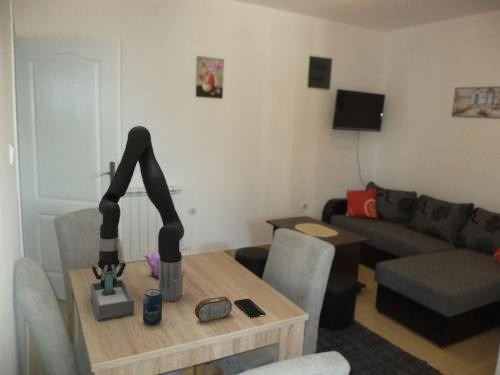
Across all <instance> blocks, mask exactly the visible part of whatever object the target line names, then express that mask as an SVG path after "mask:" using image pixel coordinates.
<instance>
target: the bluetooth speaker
mask: <svg viewBox="0 0 500 375" xmlns="http://www.w3.org/2000/svg"><path fill="white" fill-rule="evenodd" d="M232 307H233V304H232V302H231V300H230V299H229V298H228V297H227V296H217V297H212V298H206V299H202V300H200V301H199V302H198V303H197V304H196V306H195V308H194V314H195V317H196V318H197V320H199V321H200V322H210V321H215V320H221V319H224V318H226V317H228V316H229V315H230V314H231V311H232Z"/></svg>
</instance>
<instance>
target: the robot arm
mask: <svg viewBox="0 0 500 375" xmlns="http://www.w3.org/2000/svg"><path fill="white" fill-rule="evenodd" d="M126 139H127V140H126V144H125V148H124V151H123V154H122V156H121V158H120V161H119V163H118V165H117V167H116V170H115V172H114V174H113V176H112V179H111V181H110V184H109V186H108V188H107V190H106V191H105V193H104V194H103V195H102V198H101V199H100V201H99V203H98V212H99V213H100V214H101V215H102V223H101V224H100V225H99V242H98V253H99V254H98V261H97V263H96V264H91V266H90V267H91V269H92V272H93V275H94V276H95V278H96V280H99V281H100V285H101V287H102V288H105V280H104V277H105V275H106V272H109V271H110V272H112V273H113V287H115V285H117V280H118V278H120V277H122V275H123V273H124V270H125V268H126V263H125V261H123V262H120V261H119V259H120V258H119V252H120V251H119V247H120V246H119V244H120V243H119V242H120V241H119V225H120V224H119V223H120V220H121V213H122V212H121V207H120V205H119V202H120V199H121V198H122V197H124V196H125V195H126V193H127V191H128V189H129V186H130V185H131V182H132V179H133V176H134V174H135V170H136V166H137V164H138V166H139V169H140V176H141V180H142V183H143V187H144V189H145V192H146V195H147V198H148V199H149V201H150V202H151V204H152V205H153V206H154V207H155V209H156V210H157V211H158V213H159V216H160V220H161V221H162V226H161V227H160V228H159V231H158V235H157V251H158V253H159V256H160V264H159V278H158V290H160V291H161V294H162V302H169V303H170V302H175V303H176V302H177V301H178V300H179V299H181V298H182V297H183V284H184V283H183V282H184V281H183V280H184V279H183V278H184V277H183V275H182V260H183V255H182V252H181V248H180V246H181V245H180V242H181V240H182V239H183V238H184V235H185V227H184V225H183V223H182V221H181V219H180V217H179V215H178V211H177V210H176V208H175V204H174V201H173V197H172V195H171V192H170V189H169V185H168V183H167V182H168V181H167V179H166V177H165V173H164V172H163V170H162V168H161V166H160V164H159V162H158V160H157V158H156V155H155V152H154V148H153V143H152V135H151V132H150V130H149V129H148V128H147V127H146V126H142V125H136V126H133V127H132V128H131V129H129V131H128V133H127V138H126ZM119 264H120V265H119ZM118 265H119V266H120V267H117V266H118ZM98 267H99V268H100V270H101V271H100V272H101V273H100V274H99V272H98V269H99V268H98ZM116 267H117V268H119V269H118V270H117V273H116V271H115V269H116Z"/></svg>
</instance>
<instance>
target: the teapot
mask: <svg viewBox="0 0 500 375" xmlns="http://www.w3.org/2000/svg"><path fill="white" fill-rule="evenodd" d="M150 253H151V254H150V255H151V256H149V255H148V254H144V255H142V257H144V258H145V259H146V261H147V265H148V267H150V270H151V272H152V273H153V275H154V277H156V278H157V279H159V264H160V256H159V253H158V250H157V251H151V252H150Z"/></svg>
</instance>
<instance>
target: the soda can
mask: <svg viewBox="0 0 500 375" xmlns="http://www.w3.org/2000/svg"><path fill="white" fill-rule="evenodd" d="M142 298H143V300H142V301H143V302H142V303H143V304H142V321H143V323H144V324H145V325H146V326H151V327H152V326H157V325H159V324H160V323H161V321H162V320H163V301H162V294H161V291H160V290H159V288H158V289H157V288H151V289H150V288H149V289H147V290H145V292H144V295H143V297H142Z"/></svg>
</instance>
